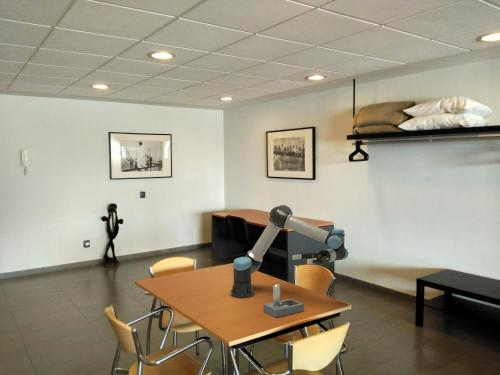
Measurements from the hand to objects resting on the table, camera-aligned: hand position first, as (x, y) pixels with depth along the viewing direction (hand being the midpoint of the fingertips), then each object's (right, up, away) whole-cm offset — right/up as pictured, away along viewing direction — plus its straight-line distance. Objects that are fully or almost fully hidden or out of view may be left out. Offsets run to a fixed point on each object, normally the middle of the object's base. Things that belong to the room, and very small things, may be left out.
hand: (299, 259), depth 234 cm
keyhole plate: (-11, -28, -6) cm, 31 cm away
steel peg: (-14, -28, -9) cm, 33 cm away
